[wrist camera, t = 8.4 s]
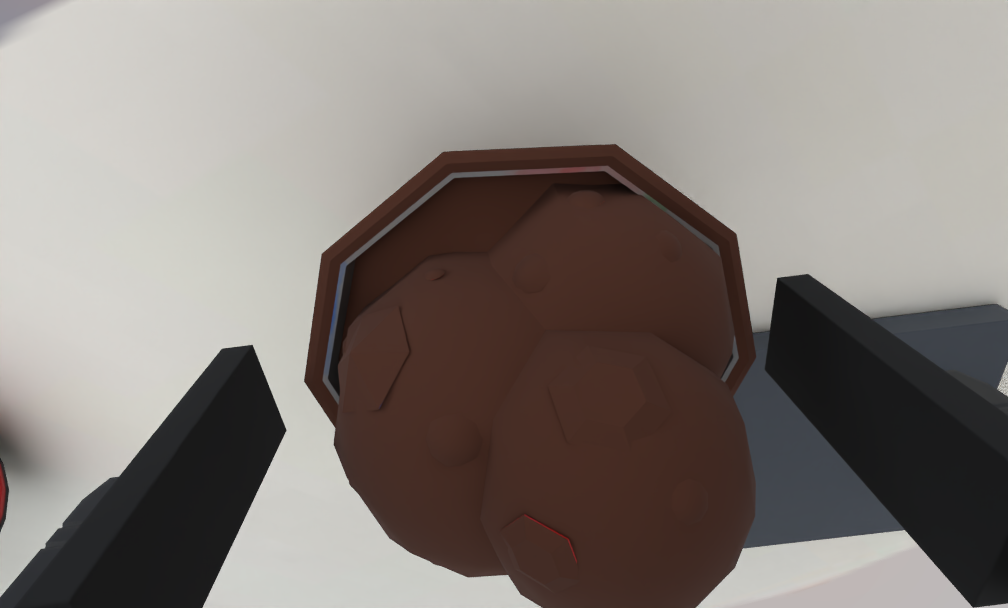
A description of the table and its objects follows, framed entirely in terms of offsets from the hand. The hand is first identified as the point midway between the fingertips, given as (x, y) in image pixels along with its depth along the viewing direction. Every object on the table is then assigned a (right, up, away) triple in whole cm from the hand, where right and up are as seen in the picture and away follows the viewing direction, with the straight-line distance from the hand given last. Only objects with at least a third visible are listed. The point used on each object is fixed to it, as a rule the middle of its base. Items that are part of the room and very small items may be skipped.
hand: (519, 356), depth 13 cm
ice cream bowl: (0, +4, +8) cm, 9 cm away
